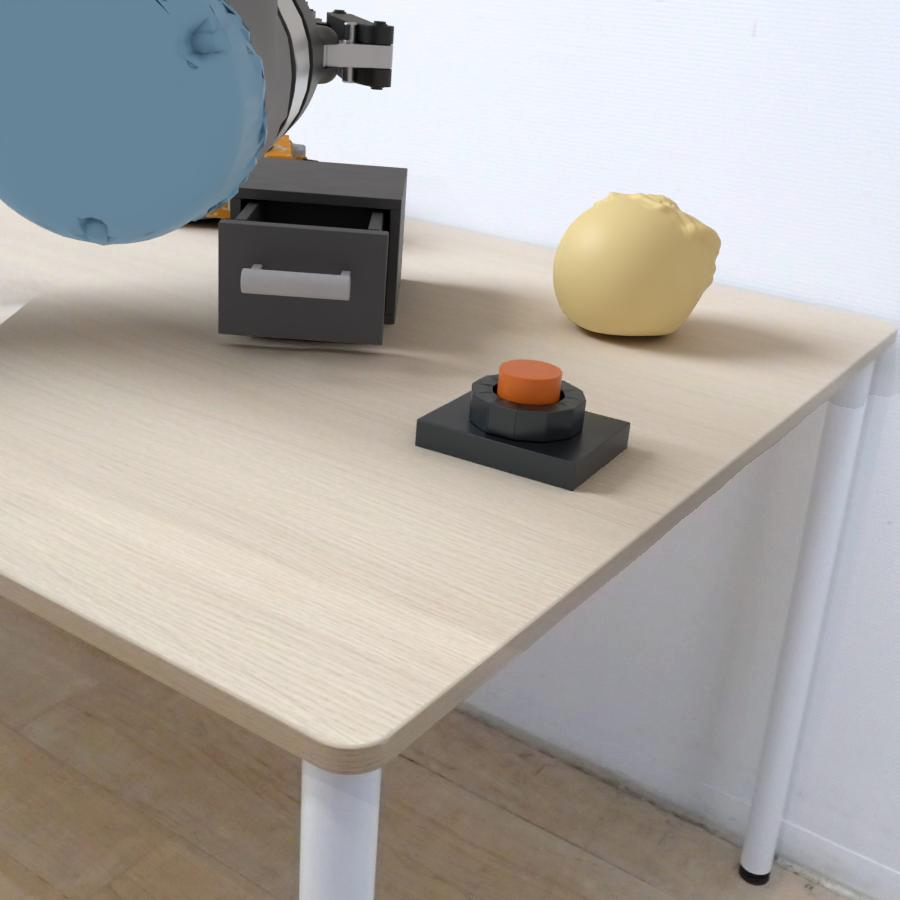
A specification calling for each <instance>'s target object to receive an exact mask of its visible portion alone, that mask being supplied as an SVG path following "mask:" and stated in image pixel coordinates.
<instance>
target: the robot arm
mask: <svg viewBox="0 0 900 900" xmlns="http://www.w3.org/2000/svg"><path fill="white" fill-rule="evenodd" d="M316 13H317V11H316V10H315V9H314V8H310V6H309V1H306V0H0V201H2V202H3V203H4V204H5V205H6V206H7V207H8V208H10V209H11V210H12V211H14V212H15V213H17V214H18V215H19V216H21V217H22V218H24V219H25V220H27V221H29V222H30V223H33V224H34V225H36V226H38V227H39V228H41V229H44V230H46V231H49V232H51V233H53V234H55V235H58V236H61V237H63V238H67V239H72V240H74V241H75V240H76V241H81V242H85V243H91V244H96V245H100V246H102V247H103V246H104V247H105V246H111V245H129V244H136V243H141V242H146V241H150V240H154V239H157V238H160V237H163V236H166V235H168V234H170V233H172V232H175V231H176V230H179V229H180V228H182V227H184V226H185V225H187V224H188V223H190V222H197V221H199V220H198V219H200V218H202V217H203V216H205V215H207V214H209V213H211V212H213V211H215V210H217V209H218V208H220V207H221V206H223V205H225V204H226V203H227V202H228V201H229V200H231V199H232V198H233V197H234V196H235V195H236V194H237V193H238V192H239V185H241V184H244V183H246V182H247V179H248V177H249V175H250V173H251V172H252V170H253V169H254V167H255V166H256V165H257V163H258V162H259V160H260V159H261V158H262V157H263V156H264V155H265V154H266V152H267V151H268V150H269V149H270V148H271V147H272V146H273V145H274V144H275V143H276V142H277V141H278V140H279V139H280V138H281V137H282V136H283V135H287V133H288V132H289V131H290V130H291V129H292V128H293V127H294V126H295V125H296V124H297V122H298V121H299V119H300V118H302V116H303V115H304V113H305V111H306V110H307V109H308V107H309V105H310V103H311V101H312V99H313V97H314V94H315V92H316V90H317V87H318V85H325V84H328V83H330V82H333V80H335V78H336V77H337V76H338V77H339V78H340V79H341V82H342V83H345V84H357V85H361V86H366V87H369V88H370V90H373V91H383V89H384V88H391V87H392V75H393V58H394V38H395V26H394V25H390V24H389V25H388V23H387V21H384V20H373V21H370V20H367V19H365V18H362V17H360V16H358V15H355V14H352V13H347V11H345V9H333V10H332V11H327V12H326V20H325V21H323V18H320V17H316V15H317V14H316ZM200 220H201V219H200Z"/></svg>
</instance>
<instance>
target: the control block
mask: <svg viewBox="0 0 900 900" xmlns="http://www.w3.org/2000/svg"><path fill="white" fill-rule="evenodd" d="M498 378H499V373H496V374H489V375H488V374H487V375H484V376H483V377H481V378H479V379H477V380H475V381H473V382H472V383H471V390H469V391H467V392H466V393H464V394H462V395H460V396H458V397H456V398H454V399H452V400H451V401H449V402H447V403H445V404H443V405H441V406H440V407H437V408H436V409H433V410H431V411H430V412H428V413H426V414H424V415H422V416H420V417H419V418H417V419H416V424H415V425H416V428H415V429H416V430H415V440H414V441H415V442H414V446H415V447H418V448H422V449H425V450H429V451H432V452H435V453H439V454H442V455H445V456H449V457H453V458H456V459H460V460H463V461H466V462H468V463H469V462H470V463H473V464H477V465H480V466H483V467H487V468H489V469H493V470H497V471H501V472H504V473H508V474H511V475H514V476H517V477H522V478H524V479H528V480H532V481H535V482H539V483H541V484H546V485H548V486H551V487H552V486H553V487H555V488H559V489H563V490H565V491H569V492H574V491H575V490H577V488H579V487H580V486H582V484H584V483H585V482H586V481H588V480H589V479H590V478H592V477H593V476H594V475H595V474H596V473H598V472H599V471H600V470H602V469H603V468H604V467H605V466H606V465H608V464H609V463H611V462H612V461H613V460H614V459H616V458H617V457H618V456H619V455H620V454H621V453H623V452H624V451H626V450H627V449H628V444H629V437H630V431H631V430H630V429H631V421H626V420H622V419H618V418H614V417H611V416H607V415H603V414H598V413H595V412H591V411H587V410H586V406H587V399H586V396H585V394H584V391H583V390H582V389H580V388H578V387H576V386H575V385H574V384H573V385H572V384H571V383H569V382H568V381H566V380H563V379H562V381H561V390H560V398H559V402H558V403H551V404H544V405H535V404H520V403H516V402H513V401H509V400H505V399H503V398H501V397H500V396H498V395H497V389H498Z"/></svg>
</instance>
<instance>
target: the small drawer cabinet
mask: <svg viewBox="0 0 900 900" xmlns="http://www.w3.org/2000/svg"><path fill="white" fill-rule="evenodd" d="M408 170H409V169H408V168H407V167H397V166H383V165H370V164H357V163H345V162H332V161H331V162H330V161H319V160H317V161H306V160H293V159H279V158H266V157H262V158H261V159H260V160H259V162H258V163H257V165H256V166H255V167H254V169H253V170H252V172H251V173H250V175H249V177H248V179H247V182H246V183H244V184H241V185H239V192H238V193H237V194H236V195H235V196H234V197H233V198H232V199H231V200H230V220H235V219H236V218H237V216H238V215H239V214H240V213H241V212H242V210H243V209H244V208H245V207H246V205H247V204H248V203H249V202H250V201H251V199H254V200H268V201H281V202H294V203H308V204H321V205H334V206H348V207H361V208H374V209H386V221H385V231H388V232H389V237H388V255H387V272H386V290H385V308H384V325H391V326H392V325H393V326H394V325H395V323H396V316H397V309H398V301H399V295H400V288H401V281H402V269H403V267H402V266H403V250H404V237H405V236H404V235H405V234H404V233H405V219H406V218H405V216H406V205H407V204H406V203H407V187H408V186H407V185H408Z"/></svg>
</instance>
